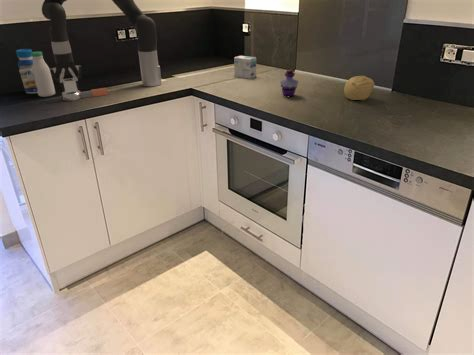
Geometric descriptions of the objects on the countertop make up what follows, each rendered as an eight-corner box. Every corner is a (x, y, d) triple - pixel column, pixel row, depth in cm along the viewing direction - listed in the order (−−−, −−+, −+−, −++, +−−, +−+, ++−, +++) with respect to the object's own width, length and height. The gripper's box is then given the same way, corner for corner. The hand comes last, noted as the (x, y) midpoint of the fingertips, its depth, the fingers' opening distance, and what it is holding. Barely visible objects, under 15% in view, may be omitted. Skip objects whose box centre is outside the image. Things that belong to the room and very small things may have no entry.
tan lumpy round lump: (356, 104, 168) (359, 80, 163) (338, 97, 177) (341, 74, 172) (375, 100, 173) (379, 77, 167) (356, 94, 182) (360, 71, 177)
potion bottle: (287, 92, 186) (288, 67, 180) (301, 95, 180) (303, 70, 175) (275, 95, 181) (276, 70, 175) (289, 99, 175) (291, 73, 169)
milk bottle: (59, 93, 187) (49, 51, 177) (47, 97, 180) (36, 54, 171) (46, 91, 189) (36, 50, 179) (34, 96, 183) (23, 53, 173)
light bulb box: (256, 76, 213) (256, 57, 208) (250, 79, 208) (250, 59, 203) (240, 74, 218) (240, 55, 213) (234, 76, 213) (233, 57, 208)
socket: (76, 88, 180) (73, 78, 178) (77, 91, 176) (75, 80, 174) (64, 90, 178) (61, 79, 176) (65, 92, 174) (63, 82, 171)
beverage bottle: (47, 90, 191) (37, 49, 182) (33, 94, 185) (22, 52, 175) (35, 88, 194) (25, 47, 185) (21, 92, 188) (9, 50, 178)
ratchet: (105, 91, 188) (103, 78, 185) (109, 95, 182) (106, 82, 179) (62, 97, 180) (59, 83, 177) (64, 102, 174) (61, 88, 171)
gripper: (78, 48, 174) (85, 85, 183) (44, 51, 168) (53, 89, 177) (80, 51, 169) (88, 89, 177) (45, 54, 163) (54, 93, 171)
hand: (70, 89), depth 177 cm, fingers closed on socket, 5 cm apart
